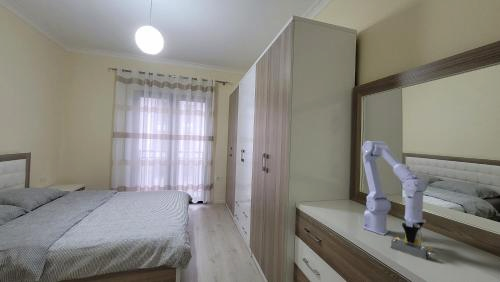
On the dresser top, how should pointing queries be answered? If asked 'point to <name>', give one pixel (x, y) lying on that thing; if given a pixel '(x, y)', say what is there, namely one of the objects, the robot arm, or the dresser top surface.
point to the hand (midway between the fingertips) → (412, 239)
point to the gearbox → (411, 249)
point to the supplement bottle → (418, 236)
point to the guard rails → (426, 247)
